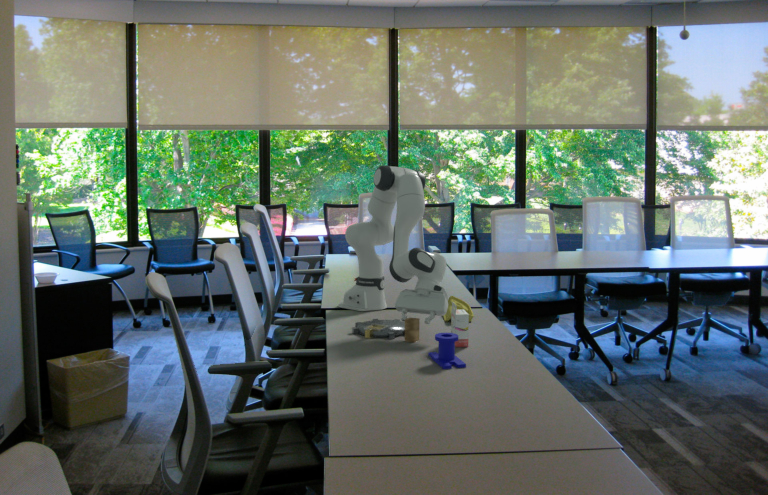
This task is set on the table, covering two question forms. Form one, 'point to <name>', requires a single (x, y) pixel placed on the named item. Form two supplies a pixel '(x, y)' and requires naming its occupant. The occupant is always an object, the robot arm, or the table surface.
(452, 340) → the mount
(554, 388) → the table surface
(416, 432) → the table surface
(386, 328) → the sprocket plate
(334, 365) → the table surface
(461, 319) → the ink cartridge box
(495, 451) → the table surface
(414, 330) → the brown rectangular block
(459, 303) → the plastic component
